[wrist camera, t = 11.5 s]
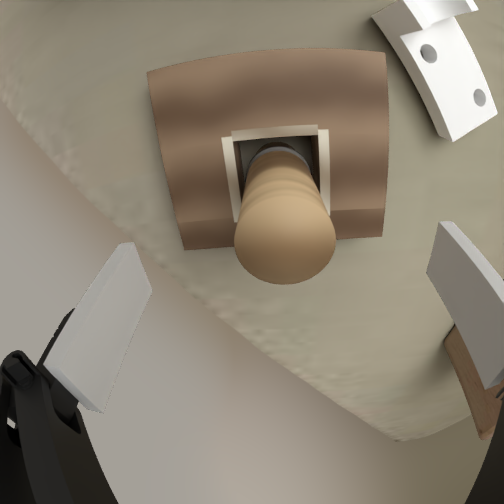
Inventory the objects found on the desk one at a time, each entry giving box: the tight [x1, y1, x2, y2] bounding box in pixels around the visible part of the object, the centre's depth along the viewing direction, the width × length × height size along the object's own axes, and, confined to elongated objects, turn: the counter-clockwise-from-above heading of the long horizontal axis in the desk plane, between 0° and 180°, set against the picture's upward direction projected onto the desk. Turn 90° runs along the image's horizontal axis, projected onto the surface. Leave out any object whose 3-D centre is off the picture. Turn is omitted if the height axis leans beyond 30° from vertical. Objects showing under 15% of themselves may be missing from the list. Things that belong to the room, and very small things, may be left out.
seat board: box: [147, 48, 389, 250], centre depth 22 cm, size 16×18×4 cm
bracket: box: [371, 0, 498, 142], centre depth 15 cm, size 13×7×8 cm, turn 37°
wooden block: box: [444, 325, 504, 440], centre depth 27 cm, size 10×10×20 cm
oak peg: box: [234, 142, 336, 285], centre depth 19 cm, size 5×5×14 cm
